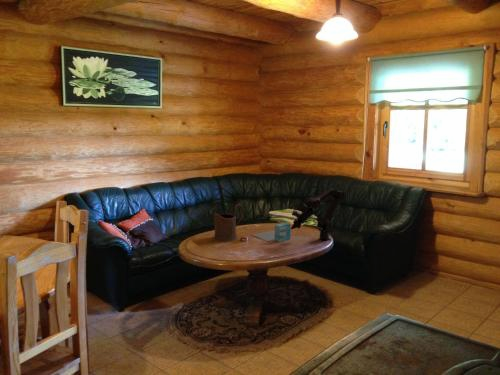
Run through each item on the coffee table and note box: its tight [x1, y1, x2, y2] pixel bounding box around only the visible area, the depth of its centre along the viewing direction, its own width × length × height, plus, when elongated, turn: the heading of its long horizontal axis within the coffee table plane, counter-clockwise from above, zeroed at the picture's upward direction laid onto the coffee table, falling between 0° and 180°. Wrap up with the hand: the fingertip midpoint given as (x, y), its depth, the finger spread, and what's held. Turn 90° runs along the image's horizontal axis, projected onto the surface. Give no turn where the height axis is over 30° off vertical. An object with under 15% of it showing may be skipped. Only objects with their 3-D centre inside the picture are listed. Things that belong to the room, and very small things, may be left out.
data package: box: [274, 222, 291, 243], centre depth 321 cm, size 12×4×12 cm, turn 130°
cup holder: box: [212, 203, 244, 243], centre depth 326 cm, size 18×24×25 cm
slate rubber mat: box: [251, 229, 291, 242], centre depth 333 cm, size 22×20×1 cm
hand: (290, 228), depth 317 cm, fingers closed
